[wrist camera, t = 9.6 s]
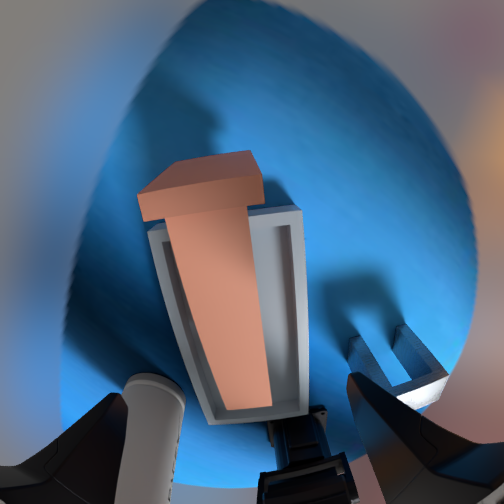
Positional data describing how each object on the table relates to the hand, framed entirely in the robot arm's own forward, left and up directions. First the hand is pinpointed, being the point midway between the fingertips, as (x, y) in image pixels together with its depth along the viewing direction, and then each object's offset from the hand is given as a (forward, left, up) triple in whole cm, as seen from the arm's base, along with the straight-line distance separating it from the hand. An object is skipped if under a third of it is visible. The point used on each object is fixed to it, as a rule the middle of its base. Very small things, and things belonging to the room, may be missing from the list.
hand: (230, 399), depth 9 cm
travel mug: (-12, +10, -12) cm, 19 cm away
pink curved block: (+1, 0, -10) cm, 10 cm away
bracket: (-9, -12, -11) cm, 19 cm away
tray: (-5, 0, -11) cm, 12 cm away
